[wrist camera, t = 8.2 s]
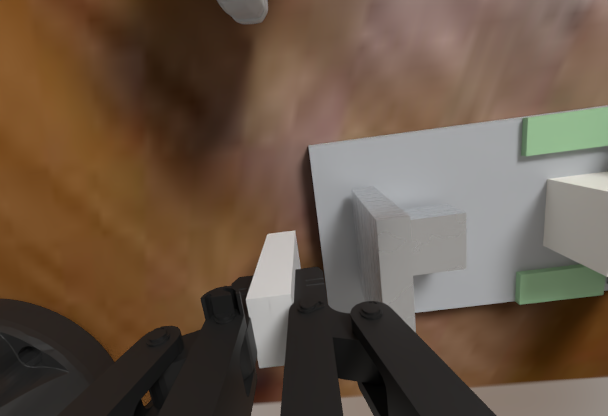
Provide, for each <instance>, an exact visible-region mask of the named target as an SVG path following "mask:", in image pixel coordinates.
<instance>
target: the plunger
mask: <svg viewBox="0 0 608 416" xmlns="http://www.w3.org/2000/svg"><path fill="white" fill-rule="evenodd" d="M351 193H352V204H353V214H354V225H355V235H356V246H357V256H358V267H359V277H360V288H361V291H362V294H363V296H364V299H365V302H366V301H379V302H382V303H385V304H387V305H388V306H390V307H391V308H392V309H393V310H394V311H395V312H396V313H397V314H398V315H399V316H400V317H401V318H402V319H403V320H404V321H405V322H406V323H407V324H408V326H409V327H410V328H411V329H412V330H413V331H414V332H415V333H416V326H415V305H414V285H413V275H422V274H430V273H438V272H447V271H455V270H463V269H466V212H464V211H462V210H460V209H458V208H456V207H454V206H452V205H450V204H448V203H447V204H439V205H431V206H423V207H415V208H407V209H401V208H399V207H398V206H397V205H396V204H394V203H393V202H392V201H391V200H390V199H388V198H387V197H386V196H385V195H383V194H382V193H381V192H380V191H379V190H377V189H376V188H375V187H374V186H370V187H362V188H354V189H351Z"/></svg>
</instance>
